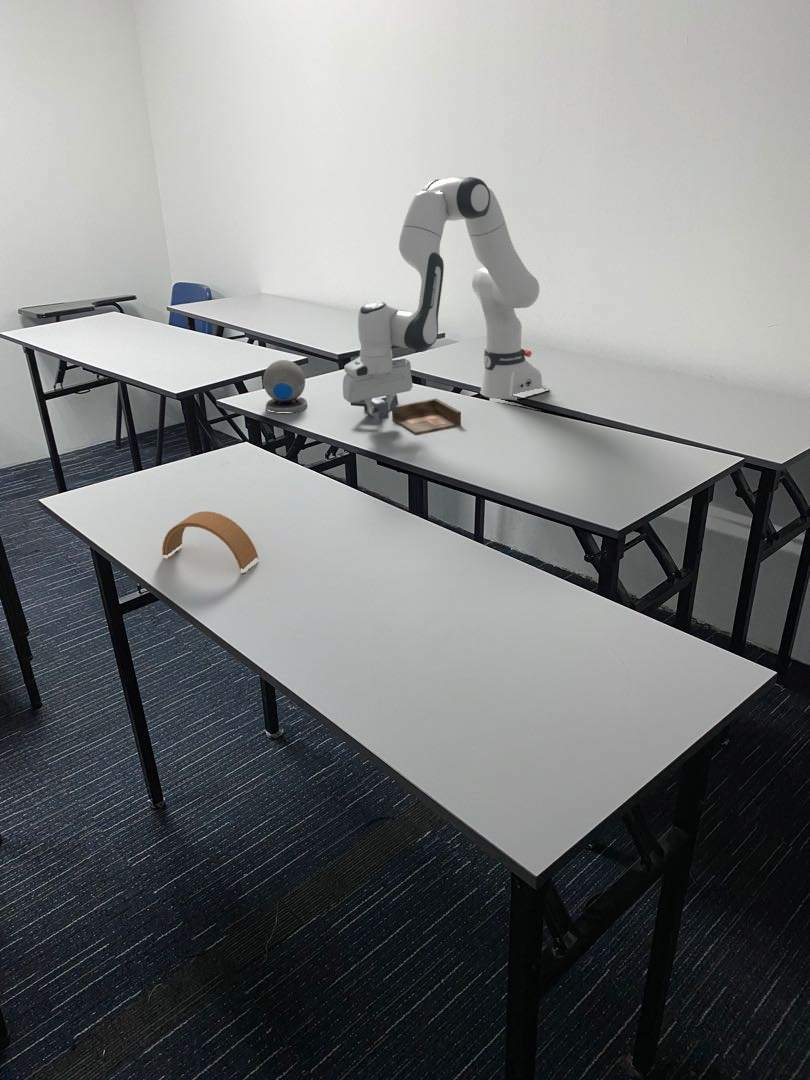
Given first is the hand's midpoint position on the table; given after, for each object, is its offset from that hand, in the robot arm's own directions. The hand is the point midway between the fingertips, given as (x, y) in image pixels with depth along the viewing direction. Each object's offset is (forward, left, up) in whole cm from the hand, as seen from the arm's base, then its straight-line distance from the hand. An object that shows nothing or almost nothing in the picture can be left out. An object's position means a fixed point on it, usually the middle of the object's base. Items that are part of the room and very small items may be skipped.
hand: (379, 411), depth 232 cm
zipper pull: (-7, -19, -7) cm, 21 cm away
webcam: (+16, -36, -7) cm, 40 cm away
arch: (+63, +51, -7) cm, 81 cm away
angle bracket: (-3, -2, -2) cm, 3 cm away
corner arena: (-15, -1, -7) cm, 17 cm away
